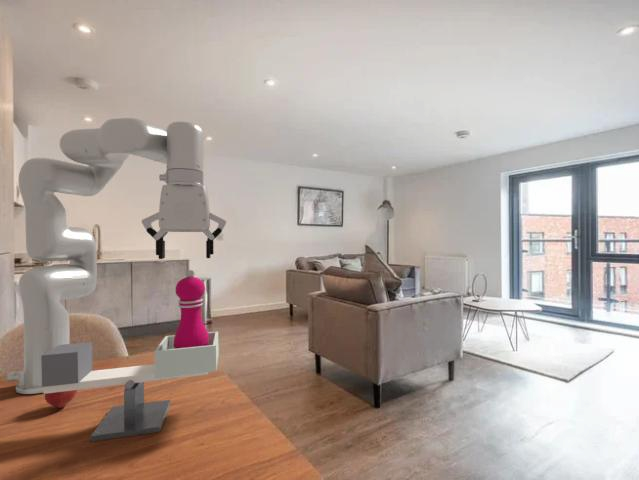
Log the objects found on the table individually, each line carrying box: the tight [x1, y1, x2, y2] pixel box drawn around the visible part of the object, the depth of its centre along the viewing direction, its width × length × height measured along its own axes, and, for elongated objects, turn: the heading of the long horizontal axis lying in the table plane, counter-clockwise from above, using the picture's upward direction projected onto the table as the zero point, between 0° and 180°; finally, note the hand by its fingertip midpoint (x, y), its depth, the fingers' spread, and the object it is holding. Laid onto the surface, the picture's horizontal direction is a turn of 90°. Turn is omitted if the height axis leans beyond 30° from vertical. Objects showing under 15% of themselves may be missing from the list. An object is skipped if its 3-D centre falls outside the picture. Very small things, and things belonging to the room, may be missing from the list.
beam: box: [41, 331, 220, 395], centre depth 71 cm, size 32×12×8 cm, turn 105°
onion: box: [44, 390, 78, 409], centre depth 77 cm, size 6×6×8 cm
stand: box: [90, 382, 171, 442], centre depth 71 cm, size 12×12×8 cm
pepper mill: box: [174, 269, 209, 349], centre depth 74 cm, size 7×7×20 cm
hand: (185, 258), depth 74 cm, fingers open, 9 cm apart
